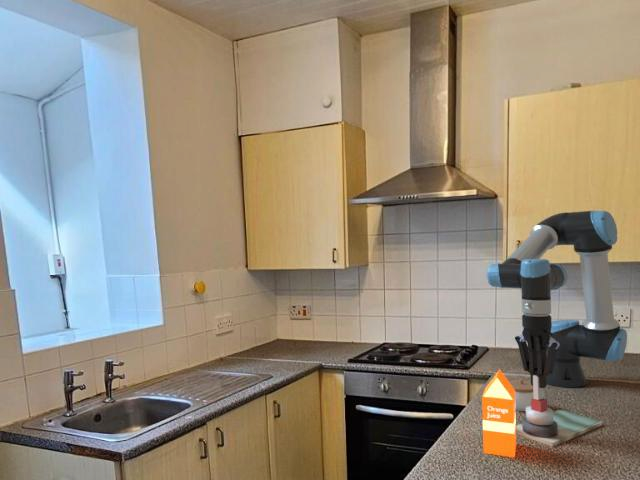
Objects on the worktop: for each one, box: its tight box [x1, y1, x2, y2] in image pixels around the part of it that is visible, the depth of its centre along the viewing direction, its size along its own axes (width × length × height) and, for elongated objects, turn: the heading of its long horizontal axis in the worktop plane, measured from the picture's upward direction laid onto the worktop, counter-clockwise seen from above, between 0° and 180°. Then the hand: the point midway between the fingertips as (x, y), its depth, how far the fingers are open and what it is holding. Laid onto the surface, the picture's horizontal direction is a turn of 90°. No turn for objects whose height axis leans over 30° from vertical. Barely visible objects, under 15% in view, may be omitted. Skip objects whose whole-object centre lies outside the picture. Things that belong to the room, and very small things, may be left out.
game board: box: [516, 409, 603, 448], centre depth 141 cm, size 25×13×4 cm, turn 123°
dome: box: [525, 397, 554, 425], centre depth 137 cm, size 7×7×6 cm
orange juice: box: [481, 368, 517, 458], centre depth 129 cm, size 8×9×20 cm
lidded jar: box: [508, 378, 534, 412], centre depth 158 cm, size 11×11×9 cm
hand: (538, 398), depth 137 cm, fingers closed
